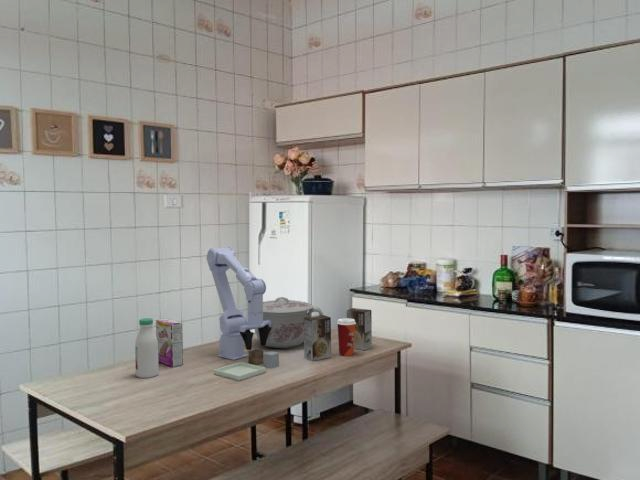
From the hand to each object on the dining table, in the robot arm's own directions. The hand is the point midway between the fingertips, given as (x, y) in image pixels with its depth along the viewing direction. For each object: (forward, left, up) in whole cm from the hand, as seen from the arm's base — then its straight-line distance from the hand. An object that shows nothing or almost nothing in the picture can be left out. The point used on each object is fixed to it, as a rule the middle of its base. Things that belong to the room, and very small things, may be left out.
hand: (255, 347), depth 214 cm
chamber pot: (-12, +28, -6) cm, 31 cm away
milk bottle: (-20, -34, -6) cm, 40 cm away
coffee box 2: (+17, +44, -6) cm, 48 cm away
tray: (+4, -12, -6) cm, 15 cm away
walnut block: (0, 0, -6) cm, 6 cm away
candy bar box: (-26, -20, -6) cm, 33 cm away
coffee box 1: (+13, +21, -6) cm, 25 cm away
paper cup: (+19, +32, -6) cm, 38 cm away
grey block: (+7, +1, -6) cm, 9 cm away
